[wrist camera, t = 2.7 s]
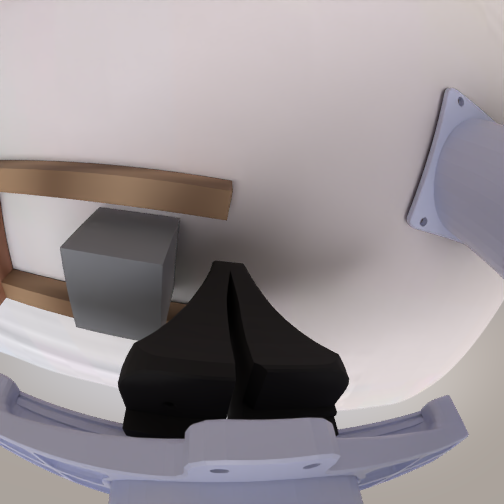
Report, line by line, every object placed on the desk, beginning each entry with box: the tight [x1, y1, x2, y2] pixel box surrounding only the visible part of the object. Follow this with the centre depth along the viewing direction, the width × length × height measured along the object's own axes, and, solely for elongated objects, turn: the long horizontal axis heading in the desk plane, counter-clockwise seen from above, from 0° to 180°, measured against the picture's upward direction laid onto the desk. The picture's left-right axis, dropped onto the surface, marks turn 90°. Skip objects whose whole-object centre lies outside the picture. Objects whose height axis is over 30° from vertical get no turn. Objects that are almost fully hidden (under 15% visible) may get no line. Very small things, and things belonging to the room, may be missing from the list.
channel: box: [0, 160, 233, 323], centre depth 11 cm, size 14×8×3 cm, turn 78°
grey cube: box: [60, 207, 180, 341], centre depth 11 cm, size 4×4×4 cm
